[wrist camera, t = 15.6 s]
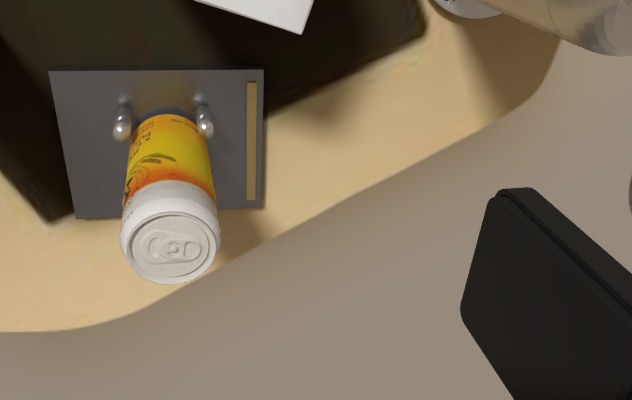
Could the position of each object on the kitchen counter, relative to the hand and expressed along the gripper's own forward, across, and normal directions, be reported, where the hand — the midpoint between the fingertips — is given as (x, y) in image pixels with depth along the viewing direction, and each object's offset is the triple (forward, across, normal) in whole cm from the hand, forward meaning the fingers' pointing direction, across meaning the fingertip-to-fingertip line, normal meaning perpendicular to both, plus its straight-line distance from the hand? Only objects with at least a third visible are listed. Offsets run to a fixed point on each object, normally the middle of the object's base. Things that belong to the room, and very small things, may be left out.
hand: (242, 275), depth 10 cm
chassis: (+36, +2, +14) cm, 39 cm away
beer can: (+35, +2, +14) cm, 38 cm away
